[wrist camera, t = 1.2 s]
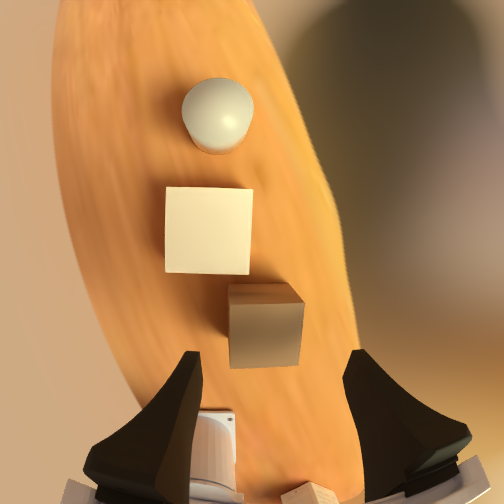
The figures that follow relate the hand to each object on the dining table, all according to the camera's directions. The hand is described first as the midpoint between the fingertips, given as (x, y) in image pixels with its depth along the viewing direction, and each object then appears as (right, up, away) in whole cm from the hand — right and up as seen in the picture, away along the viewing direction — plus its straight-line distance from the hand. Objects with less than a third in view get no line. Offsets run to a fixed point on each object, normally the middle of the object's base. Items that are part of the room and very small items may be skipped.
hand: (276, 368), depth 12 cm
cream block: (-4, +7, +10) cm, 13 cm away
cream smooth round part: (-4, +15, +8) cm, 18 cm away
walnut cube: (-1, 0, +11) cm, 11 cm away
